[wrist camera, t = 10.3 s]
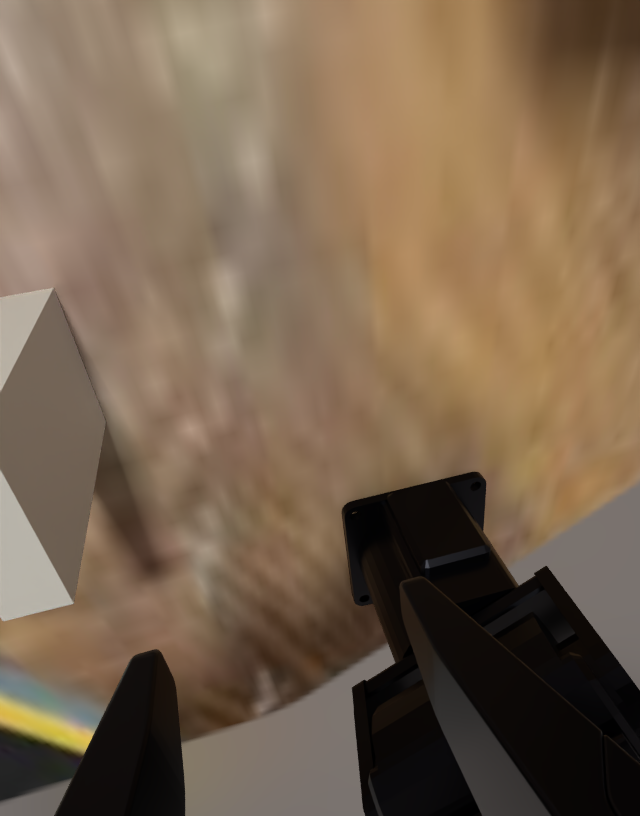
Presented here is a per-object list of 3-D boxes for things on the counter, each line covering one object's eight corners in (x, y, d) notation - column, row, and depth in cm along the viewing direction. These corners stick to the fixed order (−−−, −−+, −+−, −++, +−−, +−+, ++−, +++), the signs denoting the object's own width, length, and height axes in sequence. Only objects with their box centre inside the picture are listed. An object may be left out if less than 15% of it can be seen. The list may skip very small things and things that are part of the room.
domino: (106, 421, 20) (73, 603, 13) (59, 431, 20) (3, 621, 13) (53, 287, 17) (-21, 432, 11) (-1, 297, 17) (-112, 451, 10)
